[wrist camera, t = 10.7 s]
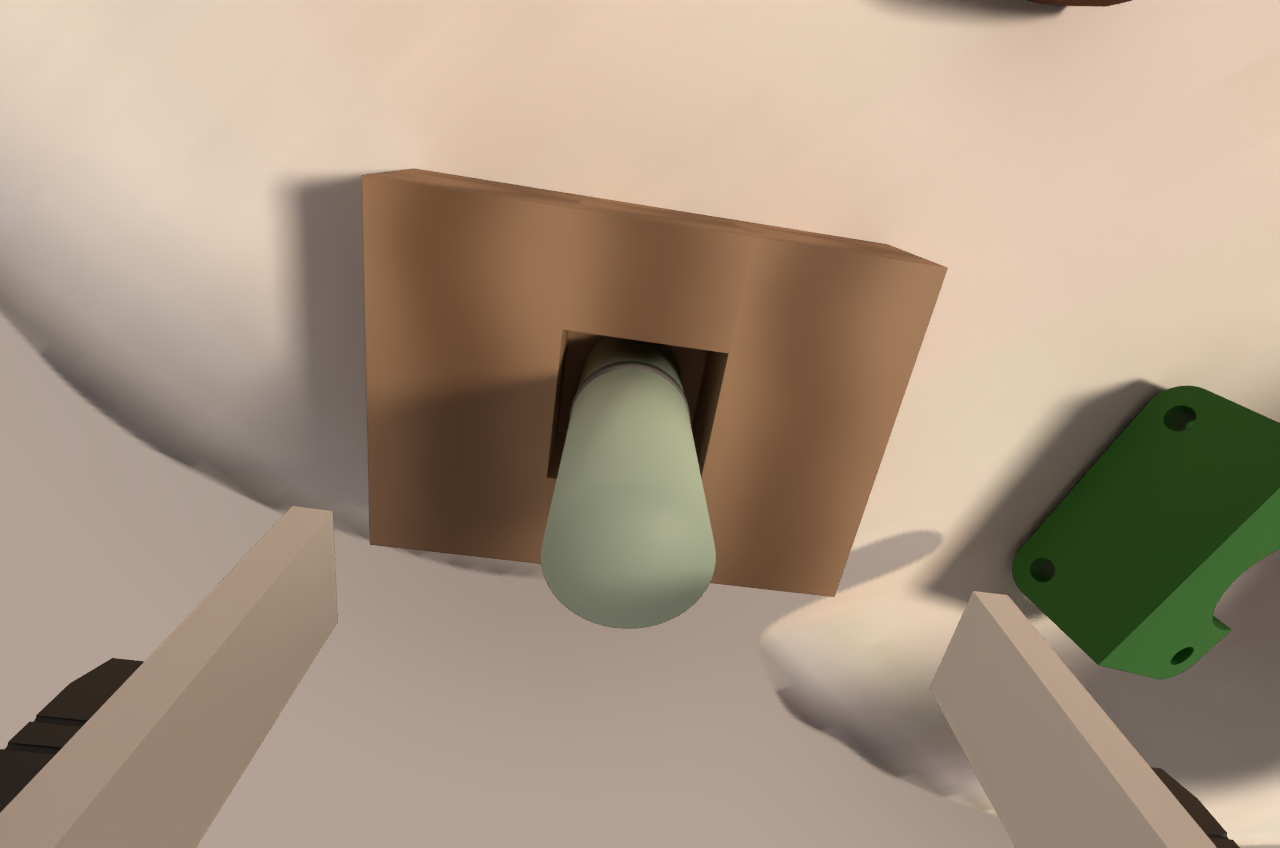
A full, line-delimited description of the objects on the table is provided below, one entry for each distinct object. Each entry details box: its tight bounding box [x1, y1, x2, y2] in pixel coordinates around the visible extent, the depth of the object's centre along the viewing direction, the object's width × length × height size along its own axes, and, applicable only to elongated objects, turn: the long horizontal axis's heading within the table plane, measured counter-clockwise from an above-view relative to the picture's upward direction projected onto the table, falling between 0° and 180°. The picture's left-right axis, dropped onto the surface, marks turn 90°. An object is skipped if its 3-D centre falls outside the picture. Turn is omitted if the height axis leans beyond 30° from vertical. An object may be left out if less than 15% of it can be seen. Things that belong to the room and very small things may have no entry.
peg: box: [541, 336, 716, 629], centre depth 20 cm, size 4×4×12 cm
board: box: [362, 169, 948, 597], centre depth 24 cm, size 18×13×5 cm
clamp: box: [1012, 386, 1280, 679], centre depth 27 cm, size 12×6×9 cm, turn 146°
